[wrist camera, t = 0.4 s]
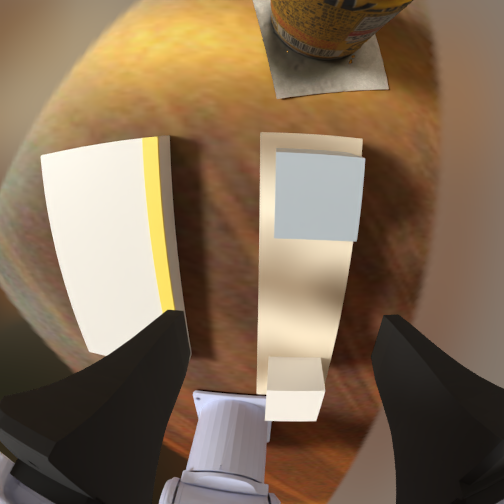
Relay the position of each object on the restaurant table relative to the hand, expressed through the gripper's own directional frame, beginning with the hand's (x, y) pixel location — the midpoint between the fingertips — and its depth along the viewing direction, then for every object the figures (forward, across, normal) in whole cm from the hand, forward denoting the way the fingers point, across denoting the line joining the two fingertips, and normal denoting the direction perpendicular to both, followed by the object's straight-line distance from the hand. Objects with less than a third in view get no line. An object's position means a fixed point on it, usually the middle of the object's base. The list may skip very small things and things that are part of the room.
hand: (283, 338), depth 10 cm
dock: (+10, +12, +2) cm, 16 cm away
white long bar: (+10, -1, +2) cm, 11 cm away
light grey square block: (+6, -1, -4) cm, 8 cm away
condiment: (+10, -2, -14) cm, 17 cm away
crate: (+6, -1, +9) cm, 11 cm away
